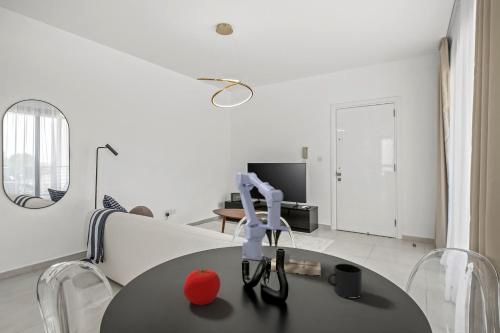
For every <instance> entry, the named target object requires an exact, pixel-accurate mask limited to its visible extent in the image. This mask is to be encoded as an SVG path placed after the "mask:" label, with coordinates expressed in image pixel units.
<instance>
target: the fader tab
mask: <svg viewBox="0 0 500 333" xmlns="http://www.w3.org/2000/svg"><path fill="white" fill-rule="evenodd" d="M284 252H285V264H289V262H290V260H291V252H288V251H287V252H286V251H284Z"/></svg>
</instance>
